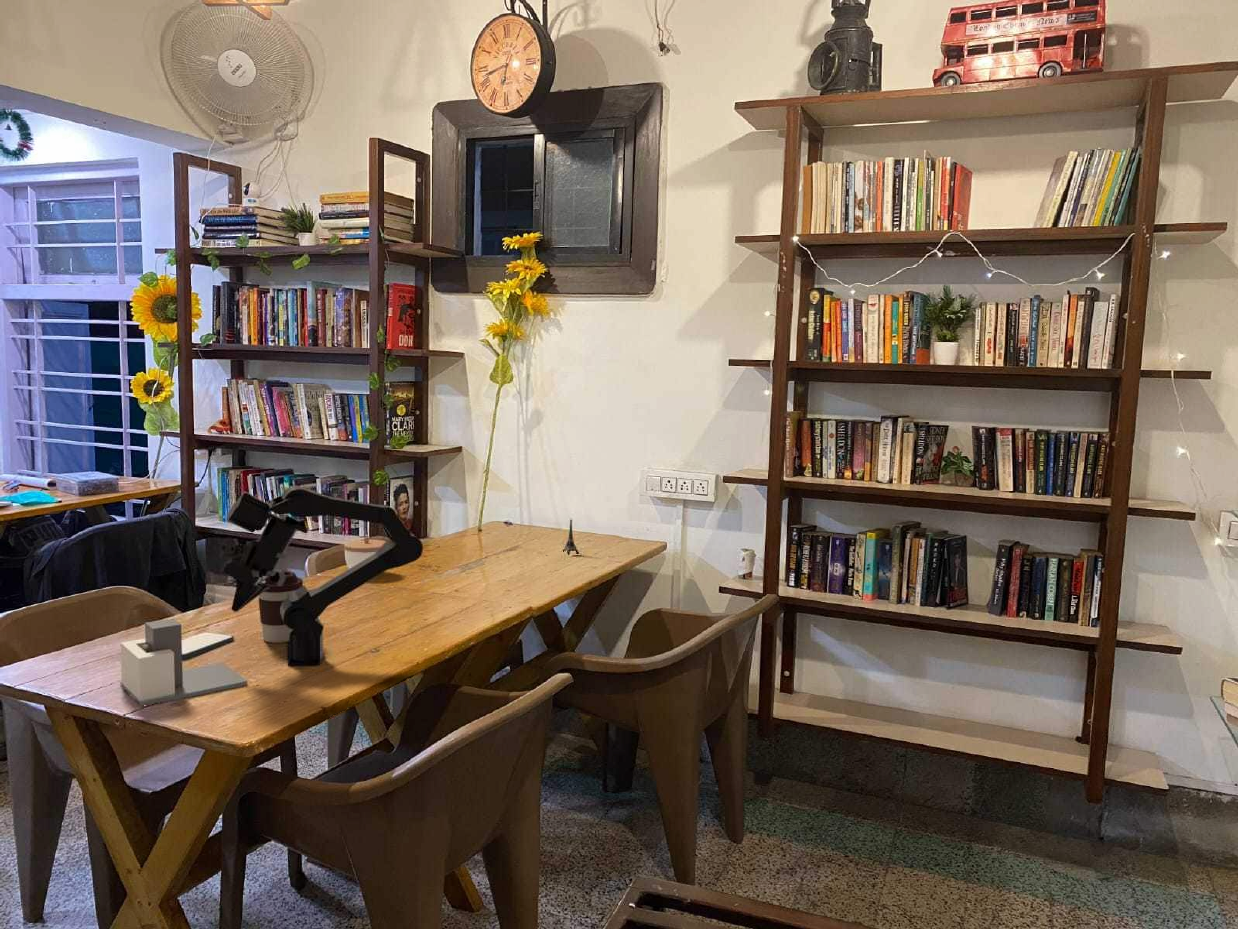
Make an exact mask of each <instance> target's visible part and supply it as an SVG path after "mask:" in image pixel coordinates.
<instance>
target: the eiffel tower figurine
mask: <svg viewBox="0 0 1238 929" xmlns="http://www.w3.org/2000/svg"><path fill="white" fill-rule="evenodd" d="M562 551H563V552H564V551H567V554H568V555H569V554H570V551H576V554H579V552H580V551H578V548H577V546H576V545H575V542H574V538H573V519H570V520H569V532H568V539H567V542H566V544H565V545H564V548H563V549H562Z"/></svg>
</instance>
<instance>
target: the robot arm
mask: <svg viewBox="0 0 1238 929" xmlns="http://www.w3.org/2000/svg"><path fill="white" fill-rule="evenodd" d="M228 511H229V512H228V513H227V516H226V518H225V519H226V520H225V521H226V522H228V523H230V524H232V525H234V526H237V527H239V528H241V529H243V530H246V531H247V532H250V533H252V534H253V533H254V532H255V531H257V532H259V531H261V530H262V529H263V528H264V529H263V530H262V533H261V534H260V536H259V538H258V539H253V540H251V542H250V543H249V544H242V543H239V541H238V539H237V538H232V537H226V538H225V540H224V541H222V542H221V544H220V545H219V546H218V549H219V550H220V551H221V552H220V555H219V556H220V558H223V559H231V560H228V561H225V563H224V565H223V566H222V568H221V570H220V571H221V572H222V573H224V574H226V575H228V576H230V577H232V578H234V580H235V583H236V586H235V591H234V596H233V600H232V604H231V605H232V606H231V611H233V612H234V613H236V612H239V611H240V610H242V609H243V608H245V606H247V605H249V603H251V602H252V601H254V599H257V597H259V595H260V594H261V593H263V592H264V591H266V590H267V589H269V588H270V587H269V586H268V585H266V584H265V582H266V581H265V578H267V579H269V580H271V581H273V582H275V585H276V586H282V584H283V583H284V581H285V579H286V577H285V574H284V572H282V571H283V570H280V569H278V568H277V566H278V564H279V562H280V560H281V559H285V558H286V556H287V552H286V550H287V548H288V546H289V545H290V543H291V541H292V539H293V538H294V536H295V535H296V533H297V531H300V532H301V533H304V534H307V533H308V529H307V526H306V520H305V519H304V517H305V518H307V517H308V518H310V517H311V518H313V517H315V518H316V517H321V516H322V517H325V516H326V517H327V516H330V517H334V518H335V517H336V518H341V519H349V520H355V521H361V522H367V523H373V524H374V523H375V524H379V525H380V526H381V528H382V529H383V531H384V533H385V534H386V536H387V538H388V539H387V540H385V541H386V542H385V543H384V544H383V545H382V547H381V548H380V549H379V550H378V551H377V552H376V553H375V554H374V555H372V556H370V557H369V558H367V559H365V560H364V561H362V562H360V563H359V564H357V565H355V566H354V567H352V568H350V569H349V568H348V569H347V570H345V571H344V572H341V573H340V574H338V575H337V576H335V577H334V578H332V579H330V580H329V581H327V582H325V583H324V584H322V585H320V586H318V587H317V588H313V589H308V587H306V585H304V584H303V586H302V587H300V588H299V589H298V590H297V591H295V592H294V593H291V594H287V597H288V598H287V599H285V600H284V601H283V602H282V604H281V607H280V614H281V616H282V619H283V621H284V623H285V625H286V626H287V627H288V628H290V629H293V630H292V631H291V633H290V634H289V639H288V640H287V642H286V660H287V666H318V665H320V664H321V663H322V661H323V660H324V658H325V656H326V653H325V652H324V638H323V637H324V636H323V635H324V633H323V632H324V625H323V623H322V622H321V620H320V619H319V617H320V616H321V615H322V613H324V611H325V610H326V609H327V608H328V607H329V606H330V605H332V604H333V603H335V602H337V601H338V600H340V599H342V598H344V597H345V596H347V595H349V594H350V593H352V592H354V591H355V590H356V589H358V588H361V586H363V585H364V584H367V583H368V582H370V581H371V580H373V579H374V578H376V577H378V576H380V575H381V574H384V572H386V571H388V570H392V569H396V568H400V567H403V566H406V565H409V564H411V563H413V562H415V561H417V560H419V559H420V558H421V557H422V554H423V552H424V545H423V542H422V541H421V539H420V538H418V537H417V536H415V535H414V534H413V533H412V532H410V531H409V529H408V528H407V527H406V525H405V524H404V523H403V521H402V520H401V519H400V518H399V516H398V515H397V512H396V511H395V509H393V508H392V507H391V506H389V505H387V504H377V503H369V502H362V501H358V500H350V499H345V498H339V497H334V496H333V497H332V496H328V495H325V494H324V493H323V494H322V493H320V492H319V491H318V492H317V491H315V490H312V489H309V488H307V487H304V486H300V485H291V486H289V487H287V488H286V489H284V491H283V492H282V494H281V495H278V496H276V497H274V498H272V499H270V500H267V501H263V500H261V499H260V498H258V497H255V496H253V495H252V494H251V493H250V492H248V491H245V490H244V491H243V492H242V493H241V495H240V496H239V497H238V499H237V500H236V501H235V502H234V503H233V504H232V506H231V507H230V509H229V510H228ZM288 514H289V515H290V516H289V515H288ZM279 515H283V516H282V517H281V516H279ZM269 517H270V518H269ZM295 518H300V519H295ZM238 559H239V560H238Z"/></svg>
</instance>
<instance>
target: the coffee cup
mask: <svg viewBox="0 0 1238 929" xmlns="http://www.w3.org/2000/svg"><path fill="white" fill-rule="evenodd" d="M281 571H282V572H284V574H285V577H286V579H285V581H284V583H283V584H282V586H276V585H275V582H273V581H271V580H269V579H267V578H265V581H266V582H265V584H266V585H268V586H269V587H270V588H269V589H267V590H266V591H264V592H263V593H261V594H260V595H259V596H258V607H259V618H260V623H261V629H262V638H263V641H265V642H268V643H272V644H282V643H287V640H288V639H289V634H290V633H291V631H292V630H293V629H290V628H288V627H287V626H286V625H285V623H284V621H283V619H282V616H281V614H280V607H281V604H282V602H283V601H284V600H285V599H287V598H288V597H287V594H291V593H294V592H295V591H297V590H298V589H299V588H300V587H302V586H304V584H303V583H304V580H303V578H301V577H298V576H297V575H296V573H295V572H294V571H291V570H290V571H289V570H281Z"/></svg>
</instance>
